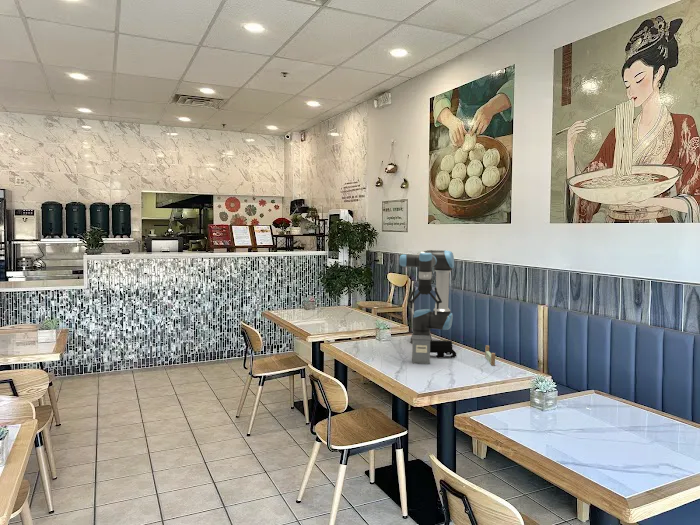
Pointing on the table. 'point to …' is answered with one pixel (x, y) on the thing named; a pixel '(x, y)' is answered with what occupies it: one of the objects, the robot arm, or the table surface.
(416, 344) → the box
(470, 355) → the table surface
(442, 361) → the table surface
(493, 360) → the backstop
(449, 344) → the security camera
